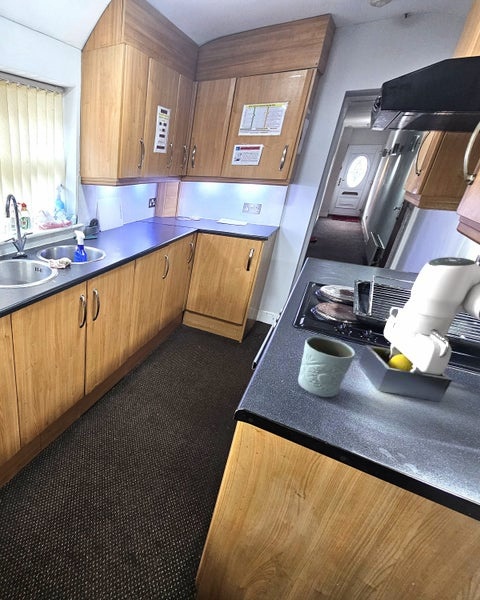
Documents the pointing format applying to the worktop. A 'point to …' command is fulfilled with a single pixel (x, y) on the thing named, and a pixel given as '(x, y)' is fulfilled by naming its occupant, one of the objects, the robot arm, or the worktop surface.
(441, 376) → the open grey rectangular container
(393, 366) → the lemon
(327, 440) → the worktop surface
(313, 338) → the pale green embossed cup
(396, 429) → the worktop surface
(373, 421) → the worktop surface
